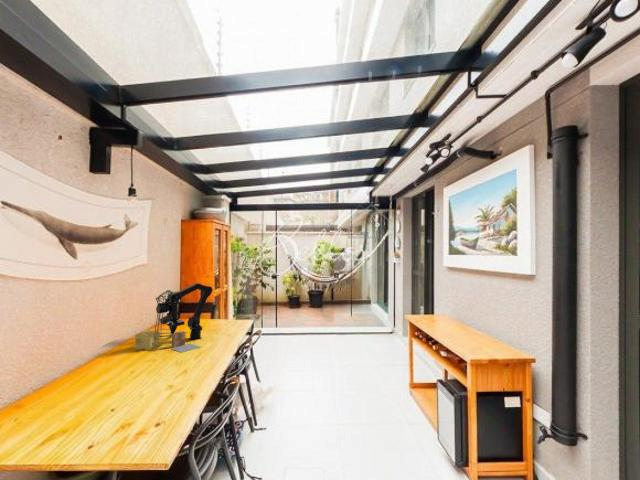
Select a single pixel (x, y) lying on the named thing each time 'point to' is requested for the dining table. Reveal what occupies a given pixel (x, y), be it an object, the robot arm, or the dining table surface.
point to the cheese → (146, 340)
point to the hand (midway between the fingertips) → (172, 334)
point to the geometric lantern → (162, 313)
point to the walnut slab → (178, 339)
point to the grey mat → (185, 348)
